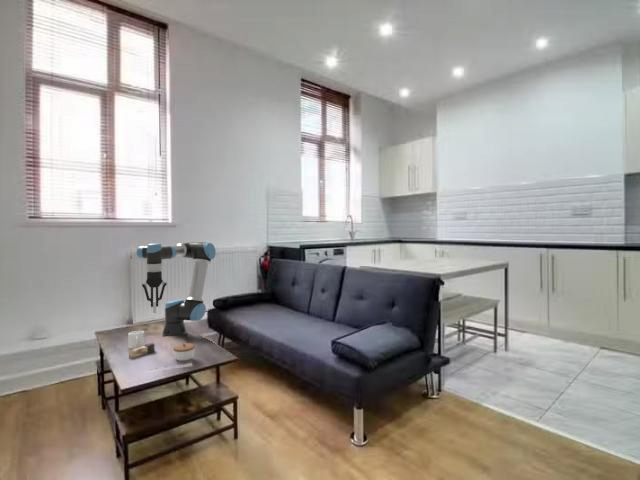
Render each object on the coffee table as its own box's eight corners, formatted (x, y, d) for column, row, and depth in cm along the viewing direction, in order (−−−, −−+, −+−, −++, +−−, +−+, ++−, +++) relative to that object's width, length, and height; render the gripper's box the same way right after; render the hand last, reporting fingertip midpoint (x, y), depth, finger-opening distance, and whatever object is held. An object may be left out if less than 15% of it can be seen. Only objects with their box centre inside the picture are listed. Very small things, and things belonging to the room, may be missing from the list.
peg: (151, 349, 198) (151, 342, 198) (156, 351, 195) (156, 344, 195) (126, 356, 186) (126, 349, 186) (131, 358, 183) (131, 351, 183)
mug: (129, 354, 194) (128, 337, 194) (128, 348, 204) (128, 331, 204) (144, 351, 198) (144, 335, 198) (143, 345, 208) (143, 329, 208)
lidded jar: (177, 357, 191) (177, 340, 190) (197, 356, 192) (197, 340, 191) (170, 364, 180) (170, 347, 180) (191, 364, 181) (191, 346, 181)
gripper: (166, 269, 199) (166, 309, 199) (141, 270, 193) (141, 312, 193) (167, 271, 192) (167, 312, 193) (141, 272, 186) (141, 315, 187)
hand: (154, 312), depth 193 cm, fingers closed
